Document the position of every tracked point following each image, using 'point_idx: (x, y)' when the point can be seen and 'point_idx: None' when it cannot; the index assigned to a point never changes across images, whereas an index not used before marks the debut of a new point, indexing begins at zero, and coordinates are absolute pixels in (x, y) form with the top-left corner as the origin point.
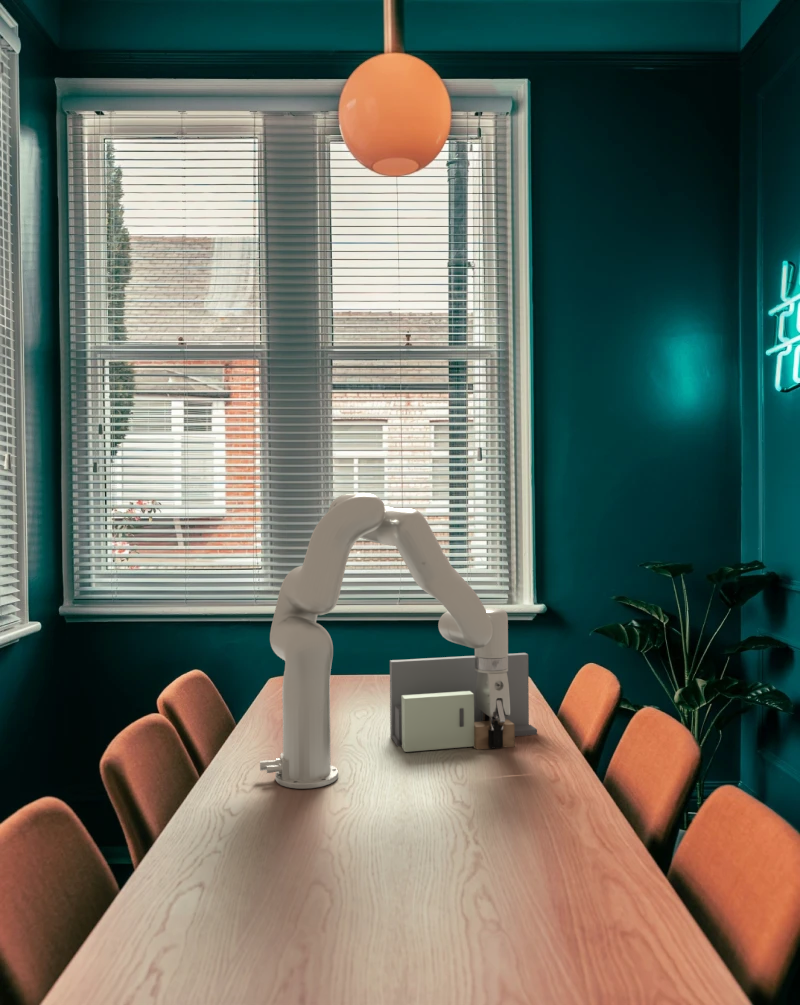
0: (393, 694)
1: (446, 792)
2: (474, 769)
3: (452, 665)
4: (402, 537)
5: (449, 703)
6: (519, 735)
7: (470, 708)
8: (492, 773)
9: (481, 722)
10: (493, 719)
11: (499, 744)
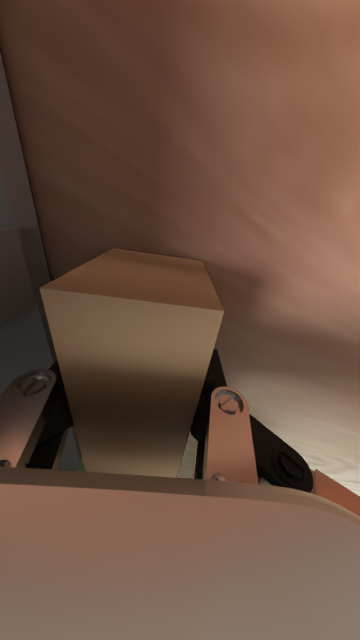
0: None
1: (353, 486)
2: (301, 435)
3: None
4: None
5: None
6: (10, 104)
7: None
8: (355, 418)
9: (102, 452)
10: (48, 395)
11: (214, 349)
